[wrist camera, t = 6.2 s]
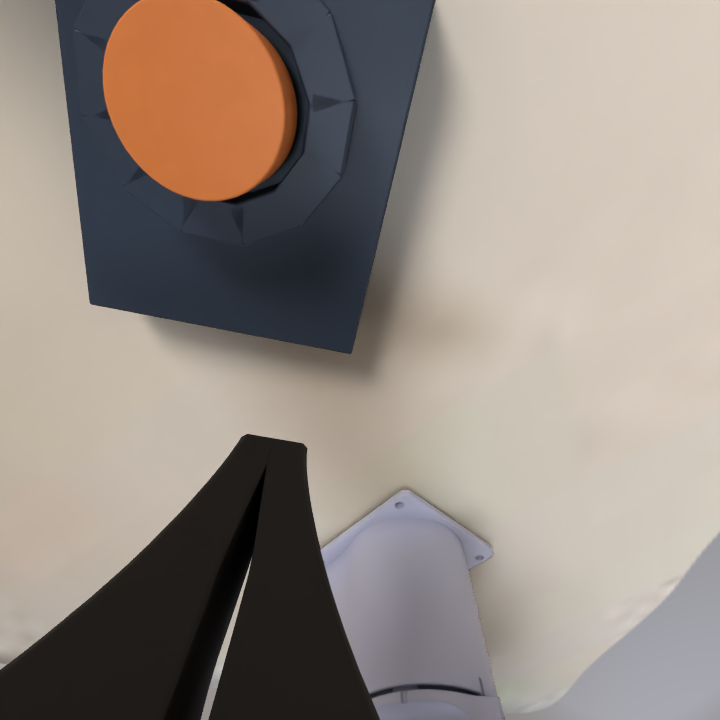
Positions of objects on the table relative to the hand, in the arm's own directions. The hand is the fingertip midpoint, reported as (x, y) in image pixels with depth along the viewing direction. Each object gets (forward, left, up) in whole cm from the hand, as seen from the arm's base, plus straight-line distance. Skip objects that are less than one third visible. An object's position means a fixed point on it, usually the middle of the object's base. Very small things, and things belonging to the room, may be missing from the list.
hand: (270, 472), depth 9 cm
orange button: (+4, +6, -6) cm, 9 cm away
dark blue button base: (+3, +5, -10) cm, 12 cm away
